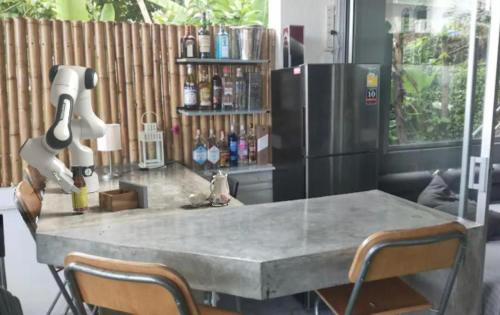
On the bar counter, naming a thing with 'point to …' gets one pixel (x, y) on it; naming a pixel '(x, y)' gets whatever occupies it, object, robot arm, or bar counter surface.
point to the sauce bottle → (80, 199)
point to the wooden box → (118, 199)
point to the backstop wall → (140, 191)
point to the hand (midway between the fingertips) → (80, 191)
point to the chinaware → (214, 192)
